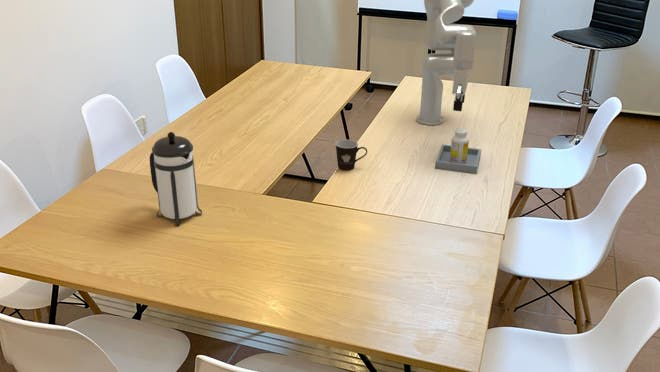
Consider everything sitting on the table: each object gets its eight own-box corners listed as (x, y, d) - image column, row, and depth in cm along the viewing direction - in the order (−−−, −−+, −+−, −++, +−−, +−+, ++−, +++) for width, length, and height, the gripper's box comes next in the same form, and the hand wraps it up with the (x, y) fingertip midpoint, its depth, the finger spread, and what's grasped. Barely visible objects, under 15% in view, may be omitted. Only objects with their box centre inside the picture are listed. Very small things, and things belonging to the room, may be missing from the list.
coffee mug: (331, 169, 251) (331, 145, 246) (341, 161, 258) (341, 137, 253) (358, 175, 246) (359, 151, 242) (367, 167, 253) (368, 143, 248)
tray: (441, 151, 268) (441, 144, 267) (480, 155, 264) (481, 149, 263) (435, 168, 252) (435, 161, 251) (476, 173, 248) (477, 166, 247)
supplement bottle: (465, 157, 260) (469, 128, 255) (467, 164, 255) (470, 134, 249) (449, 157, 261) (452, 127, 255) (450, 163, 255) (453, 133, 249)
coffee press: (205, 203, 224) (198, 122, 211) (198, 226, 210) (190, 141, 197) (155, 203, 224) (145, 122, 210) (145, 226, 209) (133, 141, 196)
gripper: (455, 56, 251) (451, 98, 259) (450, 69, 236) (446, 113, 244) (475, 58, 249) (470, 100, 257) (471, 71, 234) (466, 115, 242)
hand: (458, 106), depth 250 cm, fingers open, 9 cm apart
